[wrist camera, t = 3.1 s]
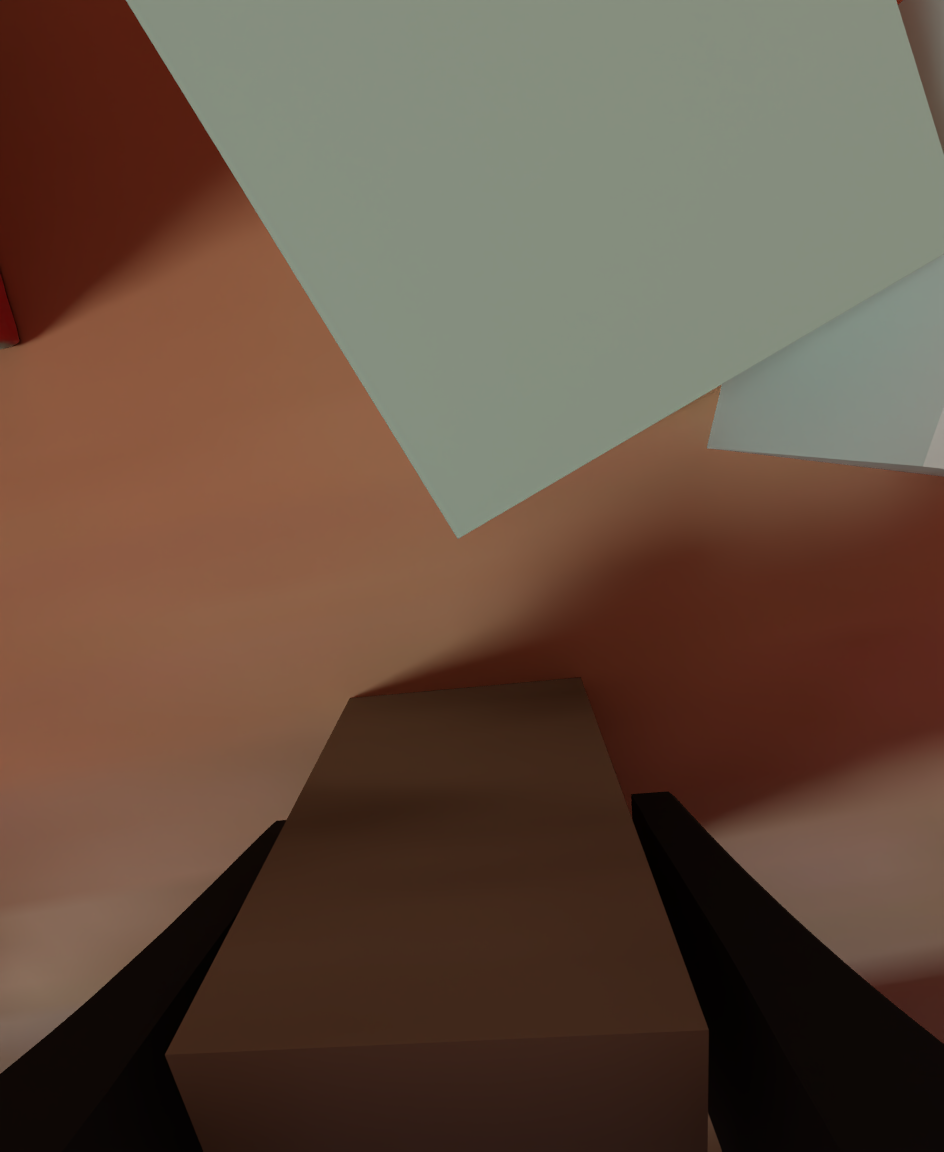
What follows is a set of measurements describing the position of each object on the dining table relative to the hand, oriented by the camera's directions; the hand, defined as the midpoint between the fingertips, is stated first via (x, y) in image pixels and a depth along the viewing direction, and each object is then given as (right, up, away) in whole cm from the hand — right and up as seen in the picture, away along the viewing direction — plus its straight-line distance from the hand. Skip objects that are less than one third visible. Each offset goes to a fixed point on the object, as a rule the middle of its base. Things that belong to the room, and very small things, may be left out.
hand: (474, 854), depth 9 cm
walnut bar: (0, 0, +2) cm, 2 cm away
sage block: (+1, +9, -1) cm, 9 cm away
